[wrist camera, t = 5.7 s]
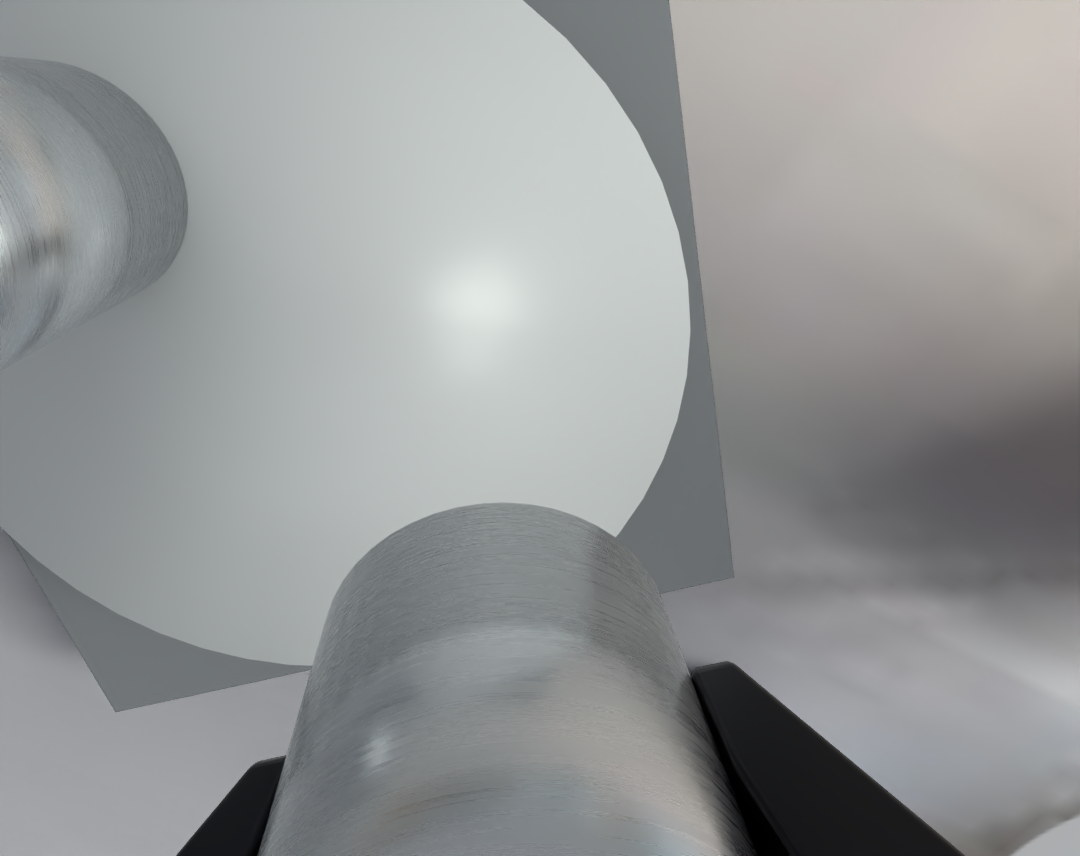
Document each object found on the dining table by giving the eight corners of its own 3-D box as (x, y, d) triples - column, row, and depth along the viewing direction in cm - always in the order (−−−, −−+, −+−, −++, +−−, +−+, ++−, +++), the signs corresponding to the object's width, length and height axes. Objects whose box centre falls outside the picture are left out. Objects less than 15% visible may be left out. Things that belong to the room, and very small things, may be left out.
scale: (616, -219, 13) (652, -300, 11) (710, 534, 20) (747, 601, 18) (-231, -25, 14) (-407, -57, 11) (147, 657, 20) (97, 743, 18)
